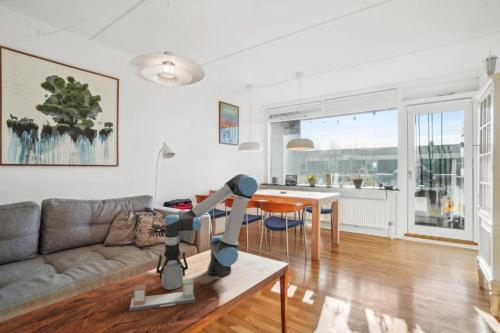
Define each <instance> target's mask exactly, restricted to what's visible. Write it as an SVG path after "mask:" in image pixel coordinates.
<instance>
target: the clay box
mask: <svg viewBox="0 0 500 333" xmlns="http://www.w3.org/2000/svg"><path fill="white" fill-rule="evenodd" d="M146 288H147V287H146V283H144V284H135V285H134V287H133V298H134V306H136V305H143V304H145V299H146V292H147V291H146V290H147V289H146Z"/></svg>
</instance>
